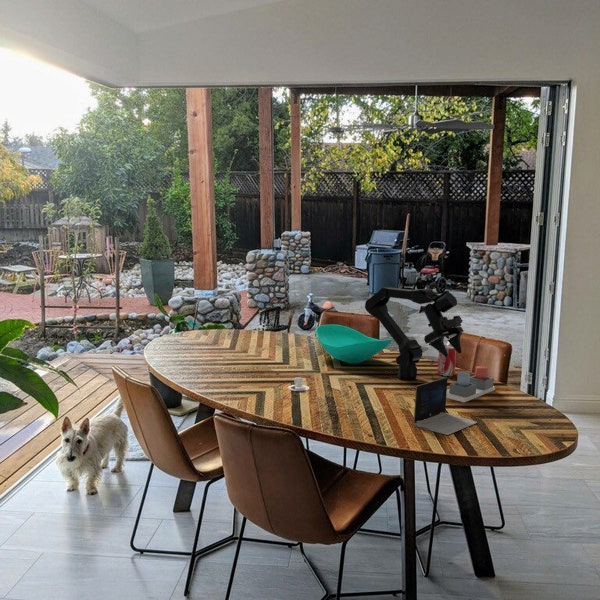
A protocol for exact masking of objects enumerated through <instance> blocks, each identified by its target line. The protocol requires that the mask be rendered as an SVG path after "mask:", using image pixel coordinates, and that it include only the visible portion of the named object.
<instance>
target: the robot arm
mask: <svg viewBox="0 0 600 600" xmlns="http://www.w3.org/2000/svg"><path fill="white" fill-rule="evenodd" d="M391 298H394V299H400V300H401V299H402V300H409V301H411V302H413V303H415V304H418V305H420V307H419V311H418V313H419V314H424V315H425V317H426V319H427V321H428V324H427V325H428V327H429V328H430V327H431V329H432V331H431V332H429V333H428V334H426V335H424V338H423V340H424V342H425V344H426V345H427V344H428V346H431V347H432V348H433V349H435V350H437V352H438V353H439V352H440V353H441V354H443V355H444V356H445V357H447V356H448V353H447V350H446V348H445V345H446V344H445V343H444V342H445V341H444V339H445V338H446V339H447V341H448V343H449V344H450V346H453V347H454V349H455V350H456V353H458V354H462V353H463V352H462V346H461V336H463V333H464V328H462V323H463V319H462V317H461V316H460V315H454V316H453V317H452V318H450V319H449V318H448V317H447V316H444V314H445V313H447V312H449V311H450V310H452V308H454V307H456V306H457V305H458V299H457V297H455V296H454V295H453V294H452V293H451V292H450V291H449V290H444V291H443V292H442V293H441V294H437V293H435V292H434V291H433V289H432V288H422V289H406V288H398V287H397V288H396V287H391V286H385V287H382V288H380V289H379V291H377V292H376V293H374V294H373V295H372V296H371V297H369V298H368V299H366V301H365V303H364V309H365V311H366V312H367V313H368V314H370V316H372V317H374V318H375V319H377V320H378V321H379V322H380V324H381V325H382V326H383V327H384V330H386V331H387V333H388V334H389V335H390V337H391V338H392V340H394V342H395V343H396V345H397V346H398V352H399V355H398V356H397V357H396V358H395V362H396V364H397V365H398V374H397V375H396V376H397V377H398V379H399V380H400V381H417V377H418V368H417V364H419V362H420V360H421V359H422V358H423V353H424V351H423V349H422V347H423V346H422V345H421V344H419V342H418V341H417V339H416V338H415V339H410V338H409V337H408V336H407V335H406V334H405V333H404V331H403V330H402V329H401V327H400V326H399V325H398V324H397V322H396V321H395V320H394V318H393V317H392V316H391V314H390V313H389V310H388V309H389V308H388V305H387V304H388V303H389V301H390V299H391ZM424 304H426V305H424ZM443 313H444V314H443Z"/></svg>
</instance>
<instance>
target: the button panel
mask: <svg viewBox="0 0 600 600" xmlns="http://www.w3.org/2000/svg"><path fill="white" fill-rule="evenodd" d="M494 380H495V379H494V377H491V376H487V379H486V380H481V379H476V378H475V374H474V375H472V376H471V375H470V383H469V386H467V387H464V386H460V385H457V381H454V382H452V383H449V388H447V393H446V399H448V400H449V399H450V400H452V401H456V402H461V403H466V402H468V401H471V400H474V399H476V398H478V397H481V396H483V395H484V396H485V394H489V393H491V392H493V391H495V388H496V387H495V386H494V383H495V382H494Z"/></svg>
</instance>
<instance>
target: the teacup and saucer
mask: <svg viewBox="0 0 600 600" xmlns="http://www.w3.org/2000/svg"><path fill="white" fill-rule="evenodd" d="M303 381H304V379H303V377H301V376H300V377H299V376H298V377H294V384H291V385H288V387H287V389H288V390H291V391H296V392H304V391H308V390H310V387H309V386H308V385H303ZM292 387H294V388H292Z"/></svg>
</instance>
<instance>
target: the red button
mask: <svg viewBox="0 0 600 600" xmlns="http://www.w3.org/2000/svg"><path fill="white" fill-rule="evenodd" d="M488 369H489V368H488V367H487V366H483V365H479V366H478V365H477V366H476V367H475V374H474V375H475V378H476V379H481V380H486V379H487V377H488V371H489V370H488Z"/></svg>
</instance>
